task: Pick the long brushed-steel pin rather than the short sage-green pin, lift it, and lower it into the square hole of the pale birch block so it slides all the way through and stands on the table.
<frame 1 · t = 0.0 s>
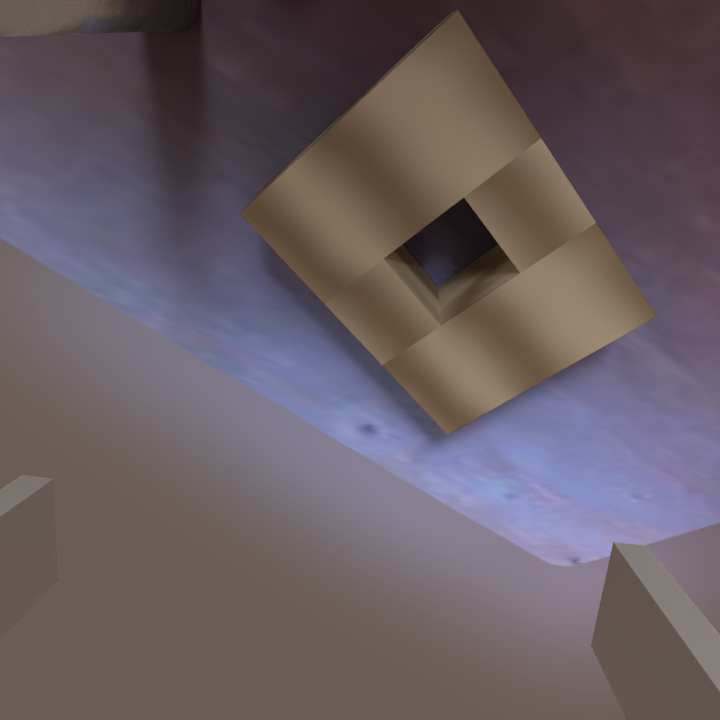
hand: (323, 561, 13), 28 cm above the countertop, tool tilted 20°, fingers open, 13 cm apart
hole block: (446, 232, 37), on the countertop
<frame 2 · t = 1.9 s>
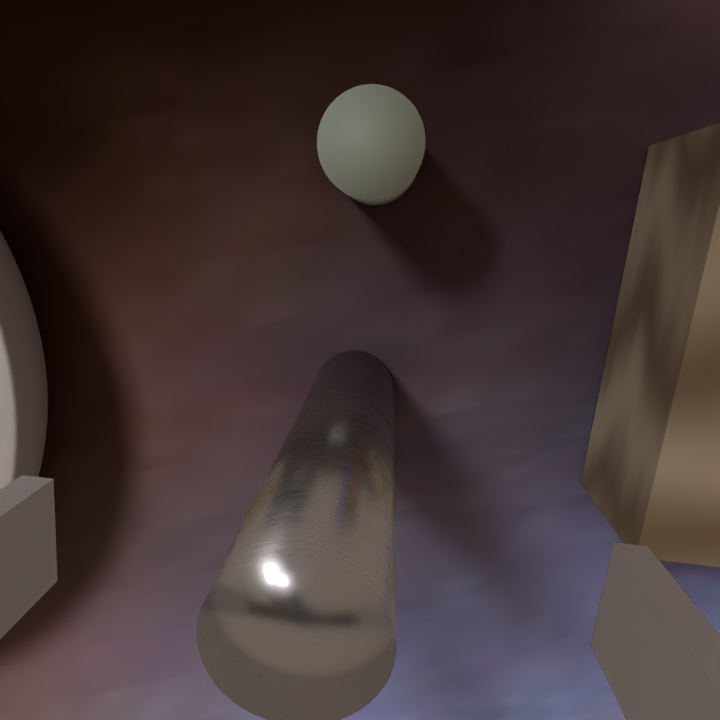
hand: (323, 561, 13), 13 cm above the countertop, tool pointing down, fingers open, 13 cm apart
long steel pin: (354, 388, 25), on the countertop
short green pin: (375, 160, 23), on the countertop
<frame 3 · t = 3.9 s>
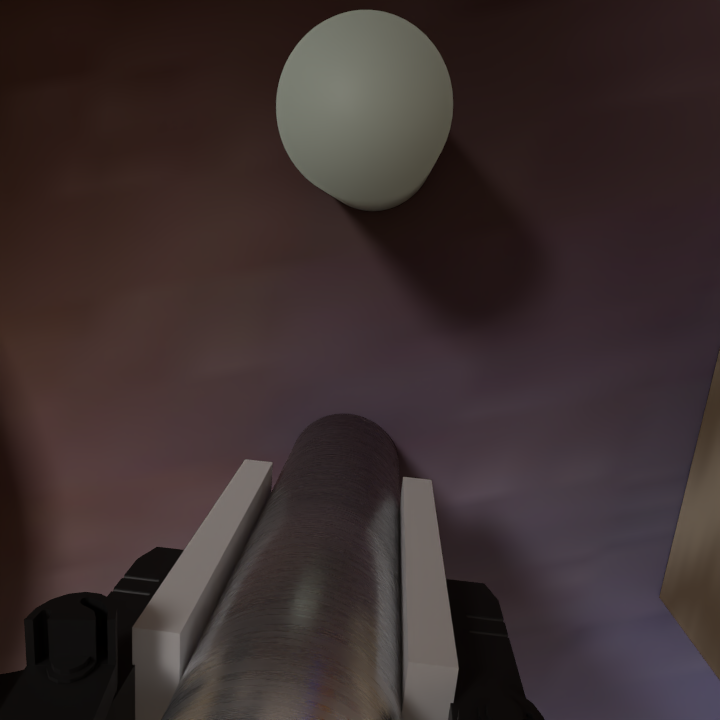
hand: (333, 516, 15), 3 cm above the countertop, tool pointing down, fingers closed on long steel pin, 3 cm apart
long steel pin: (344, 465, 18), on the countertop, touching gripper
short green pin: (373, 147, 16), on the countertop
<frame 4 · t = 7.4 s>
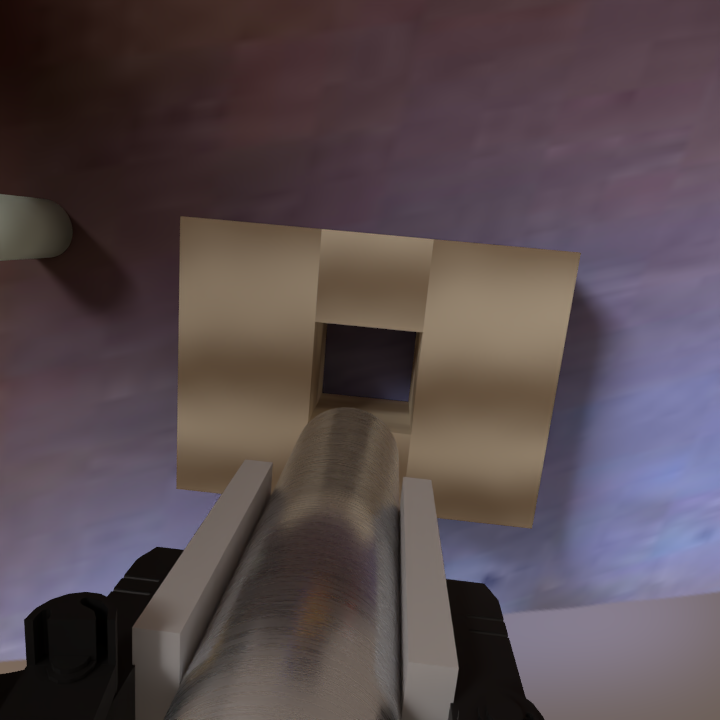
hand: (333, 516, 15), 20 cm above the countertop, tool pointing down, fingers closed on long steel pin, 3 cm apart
long steel pin: (346, 456, 19), point 16 cm above the countertop, touching gripper
hole block: (369, 355, 35), on the countertop
short green pin: (44, 228, 34), on the countertop
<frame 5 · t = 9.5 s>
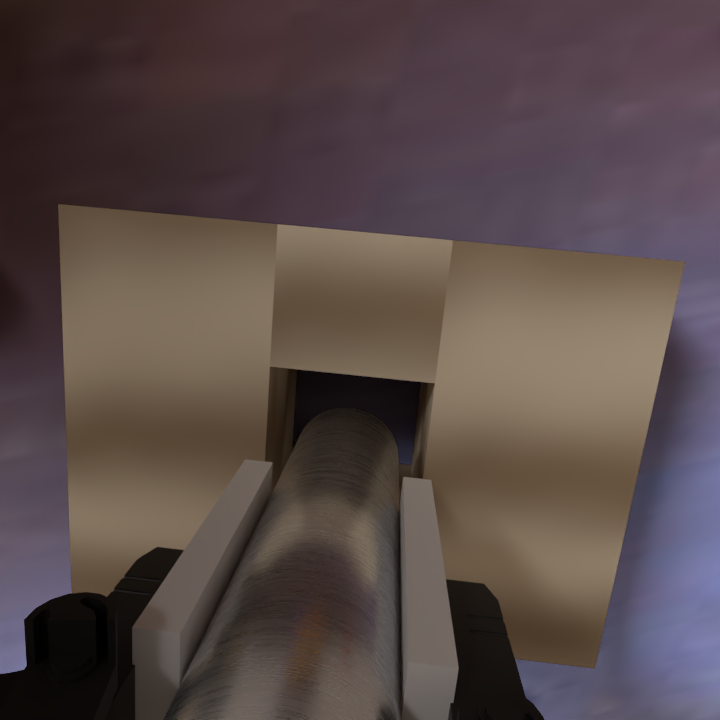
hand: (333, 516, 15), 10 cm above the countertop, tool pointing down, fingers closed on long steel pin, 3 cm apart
long steel pin: (346, 456, 19), point 6 cm above the countertop, touching gripper
hole block: (356, 401, 25), on the countertop
when the fingers open (8 cm above the countertop, at t = 11.1 s): long steel pin drops 4 cm, resting in hole block.
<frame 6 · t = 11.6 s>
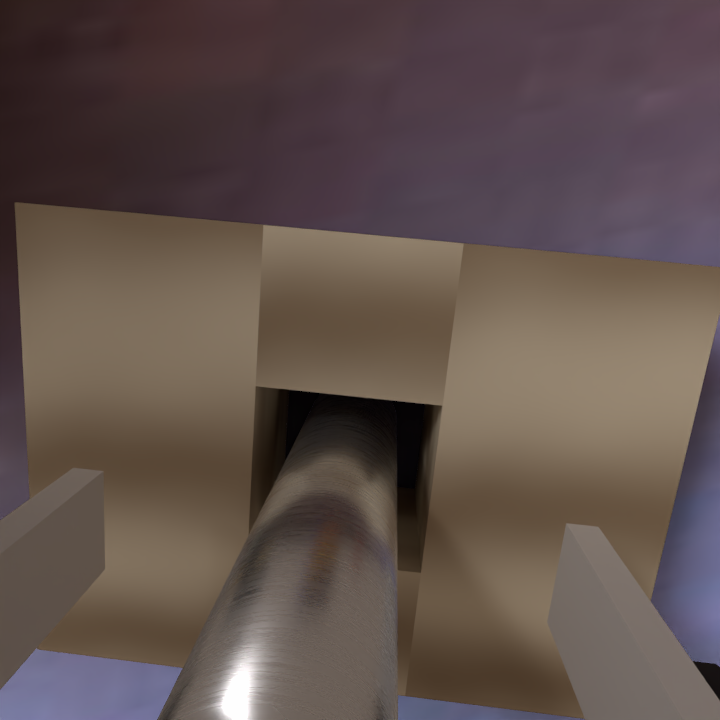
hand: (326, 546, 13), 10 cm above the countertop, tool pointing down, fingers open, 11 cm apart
long steel pin: (353, 420, 23), resting in hole block
hole block: (354, 419, 23), on the countertop
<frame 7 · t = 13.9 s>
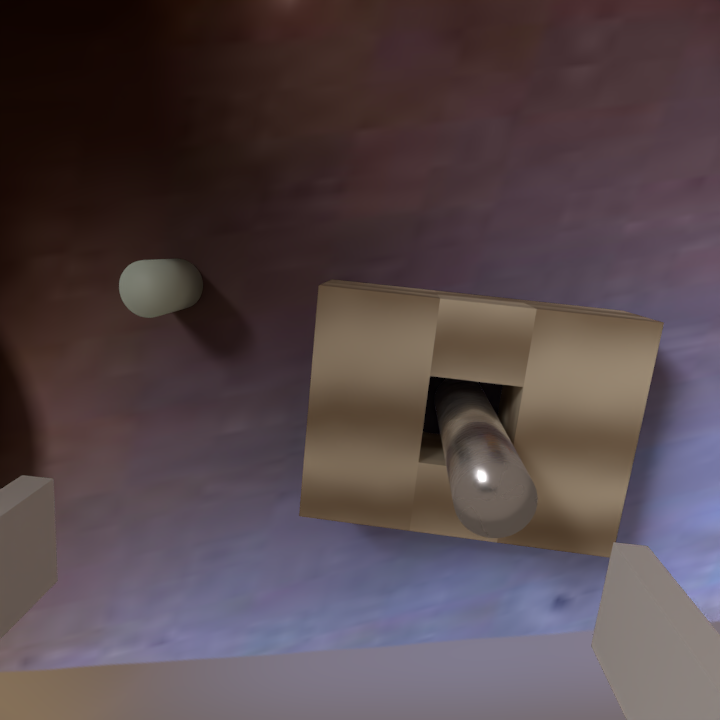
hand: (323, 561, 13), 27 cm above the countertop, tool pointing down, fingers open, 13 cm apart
long steel pin: (459, 399, 39), resting in hole block
hole block: (460, 398, 39), on the countertop
short green pin: (178, 283, 39), on the countertop
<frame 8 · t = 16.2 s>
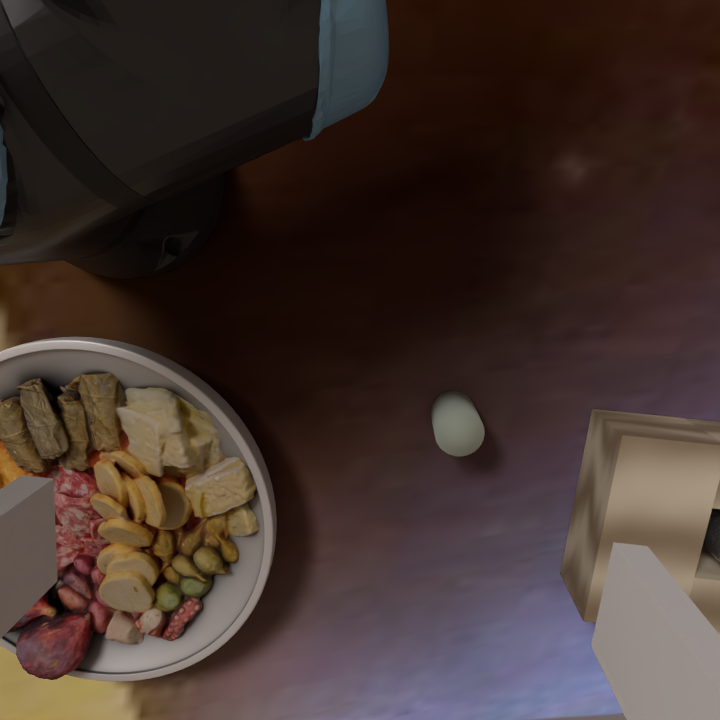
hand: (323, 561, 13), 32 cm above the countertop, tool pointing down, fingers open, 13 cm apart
long steel pin: (697, 508, 45), resting in hole block
bowl: (119, 494, 49), on the countertop
hole block: (698, 507, 45), on the countertop
short green pin: (452, 411, 45), on the countertop
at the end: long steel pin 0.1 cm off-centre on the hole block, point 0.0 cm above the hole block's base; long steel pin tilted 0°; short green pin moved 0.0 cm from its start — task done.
